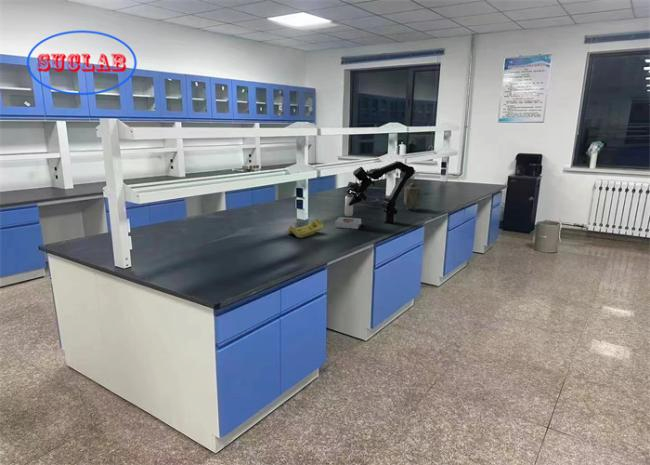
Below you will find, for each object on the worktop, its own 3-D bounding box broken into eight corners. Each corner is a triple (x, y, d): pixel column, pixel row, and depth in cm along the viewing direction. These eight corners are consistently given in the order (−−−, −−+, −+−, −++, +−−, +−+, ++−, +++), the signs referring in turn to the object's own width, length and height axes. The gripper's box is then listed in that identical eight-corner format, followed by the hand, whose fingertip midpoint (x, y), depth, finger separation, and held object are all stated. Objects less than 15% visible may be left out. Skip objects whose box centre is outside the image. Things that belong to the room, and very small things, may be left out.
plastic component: (299, 234, 232) (289, 224, 237) (296, 245, 236) (286, 234, 241) (326, 226, 244) (316, 216, 250) (323, 236, 249) (312, 226, 254)
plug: (348, 213, 266) (349, 194, 263) (354, 215, 263) (355, 195, 260) (342, 214, 263) (343, 194, 260) (349, 216, 260) (349, 195, 256)
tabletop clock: (418, 211, 312) (420, 177, 306) (405, 211, 312) (408, 177, 306) (414, 208, 326) (417, 175, 320) (402, 207, 326) (405, 175, 320)
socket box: (339, 222, 273) (339, 215, 272) (361, 224, 270) (361, 217, 269) (334, 227, 259) (335, 220, 258) (357, 229, 256) (358, 222, 255)
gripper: (348, 175, 267) (332, 193, 265) (363, 178, 251) (345, 198, 249) (359, 187, 272) (343, 205, 270) (374, 191, 256) (357, 210, 254)
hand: (347, 204), depth 261 cm, fingers closed on plug, 5 cm apart
